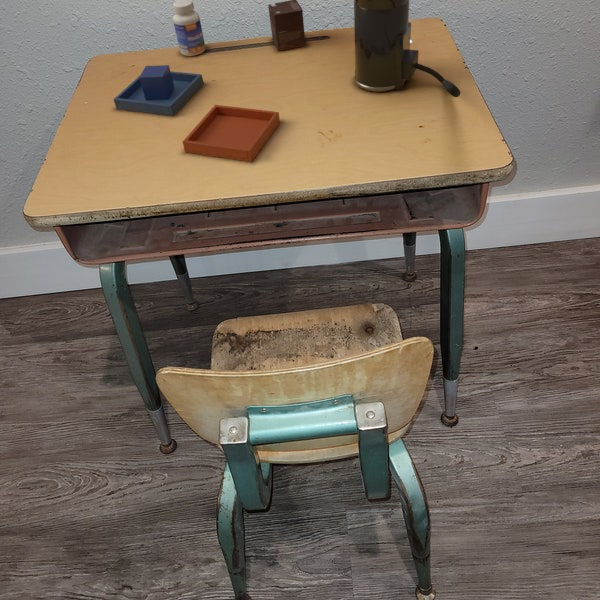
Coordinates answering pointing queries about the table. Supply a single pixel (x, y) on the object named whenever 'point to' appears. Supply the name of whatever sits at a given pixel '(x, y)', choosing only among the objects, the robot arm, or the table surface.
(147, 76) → the blue block
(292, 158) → the table surface
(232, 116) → the warm tray
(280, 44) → the box
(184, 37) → the pill bottle
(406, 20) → the robot arm
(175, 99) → the blue tray
